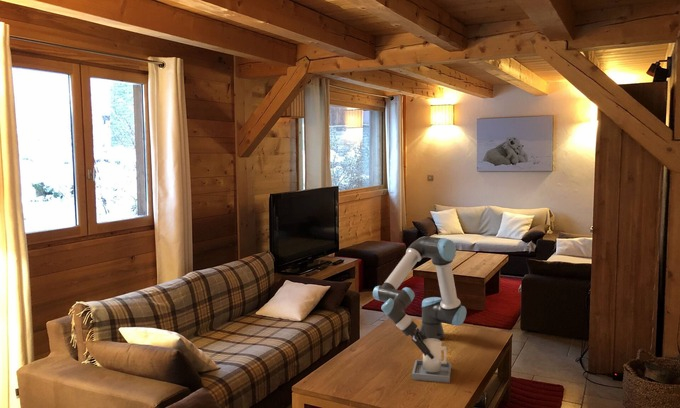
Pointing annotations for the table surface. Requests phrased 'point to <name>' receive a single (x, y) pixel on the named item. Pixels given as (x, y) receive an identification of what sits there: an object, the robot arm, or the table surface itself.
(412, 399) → the table surface
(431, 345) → the white pitcher
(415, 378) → the slate tray
